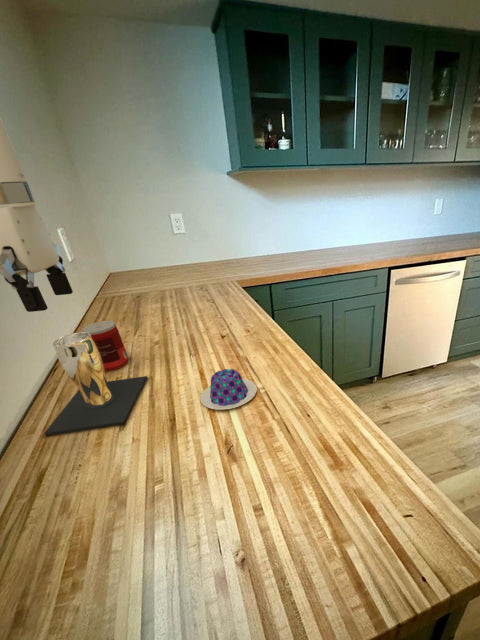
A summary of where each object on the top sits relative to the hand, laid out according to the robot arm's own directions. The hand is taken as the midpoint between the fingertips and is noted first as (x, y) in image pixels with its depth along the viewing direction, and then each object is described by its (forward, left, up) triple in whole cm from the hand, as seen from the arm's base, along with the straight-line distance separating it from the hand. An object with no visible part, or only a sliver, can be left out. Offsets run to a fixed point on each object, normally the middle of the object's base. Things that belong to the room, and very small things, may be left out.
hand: (51, 301), depth 62 cm
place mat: (0, 0, -23) cm, 23 cm away
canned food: (-4, +20, -24) cm, 31 cm away
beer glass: (0, 0, -23) cm, 23 cm away
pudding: (+28, -4, -24) cm, 37 cm away
